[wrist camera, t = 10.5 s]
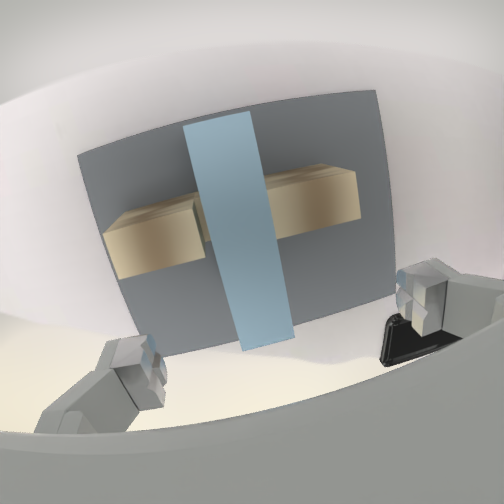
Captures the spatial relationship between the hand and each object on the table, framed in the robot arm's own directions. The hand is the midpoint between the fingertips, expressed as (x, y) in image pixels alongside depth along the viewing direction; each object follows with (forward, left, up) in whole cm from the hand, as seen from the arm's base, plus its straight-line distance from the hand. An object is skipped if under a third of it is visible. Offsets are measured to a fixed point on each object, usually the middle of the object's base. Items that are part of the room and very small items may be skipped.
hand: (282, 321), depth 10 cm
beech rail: (0, 0, -20) cm, 20 cm away
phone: (-22, +22, -21) cm, 37 cm away
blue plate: (0, 0, -20) cm, 20 cm away
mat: (-2, +3, -20) cm, 20 cm away
